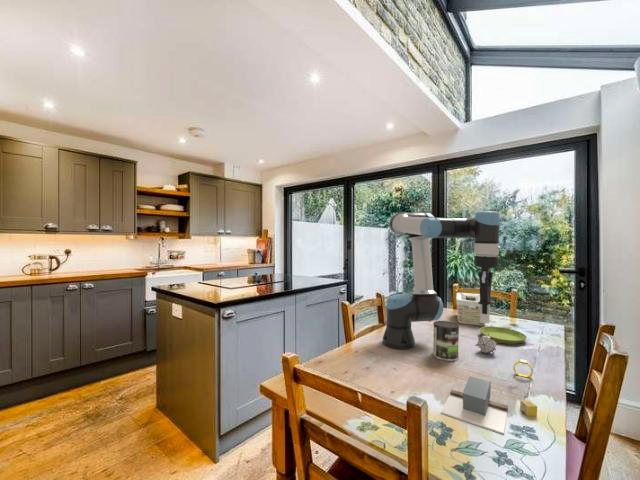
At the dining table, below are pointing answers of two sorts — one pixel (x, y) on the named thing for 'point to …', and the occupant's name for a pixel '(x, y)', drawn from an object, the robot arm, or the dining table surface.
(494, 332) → the saucer
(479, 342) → the game die
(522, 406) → the alphabet block
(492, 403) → the bar
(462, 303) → the storage basket
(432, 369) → the dining table surface
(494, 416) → the mat
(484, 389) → the tall block
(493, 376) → the dining table surface
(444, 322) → the coffee can
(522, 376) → the watch
